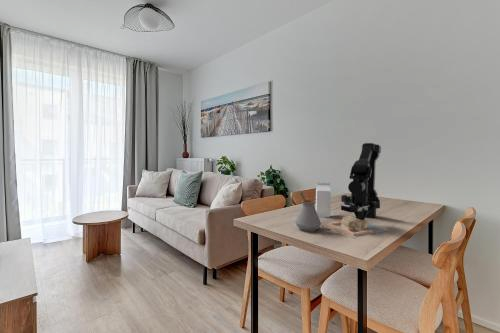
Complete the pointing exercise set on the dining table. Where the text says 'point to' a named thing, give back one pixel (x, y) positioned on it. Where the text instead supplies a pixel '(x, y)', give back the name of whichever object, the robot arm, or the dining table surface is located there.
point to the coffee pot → (308, 216)
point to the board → (370, 230)
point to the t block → (353, 224)
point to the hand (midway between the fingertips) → (359, 224)
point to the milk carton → (323, 199)
